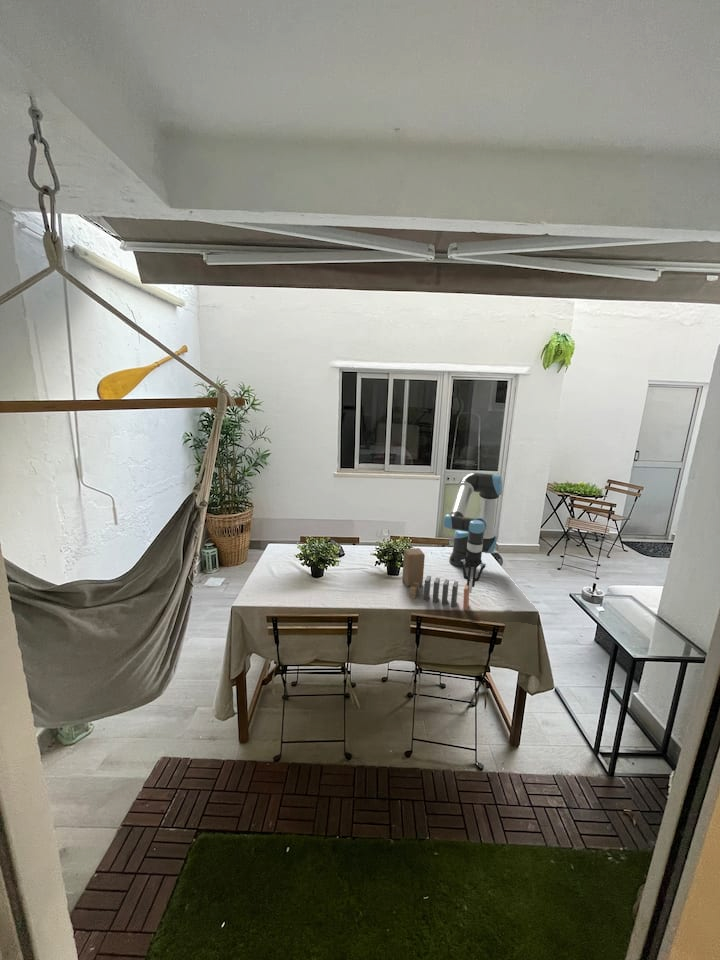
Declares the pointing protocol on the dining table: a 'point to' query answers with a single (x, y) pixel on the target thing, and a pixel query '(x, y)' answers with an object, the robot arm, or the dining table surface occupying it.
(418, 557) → the block
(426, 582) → the domino
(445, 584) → the domino
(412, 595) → the end stop
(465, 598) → the domino
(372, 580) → the dining table surface
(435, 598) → the domino
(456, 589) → the domino
